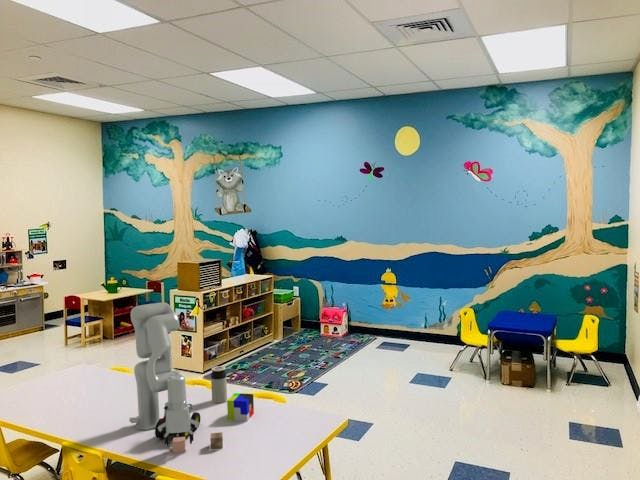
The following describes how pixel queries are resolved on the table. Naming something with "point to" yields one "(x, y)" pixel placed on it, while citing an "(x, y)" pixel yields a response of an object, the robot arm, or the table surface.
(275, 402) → the table surface
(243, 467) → the table surface
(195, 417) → the toy tractor
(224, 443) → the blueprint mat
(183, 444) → the terracotta block
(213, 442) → the walnut block
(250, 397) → the puzzle toy
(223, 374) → the travel mug
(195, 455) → the table surface
